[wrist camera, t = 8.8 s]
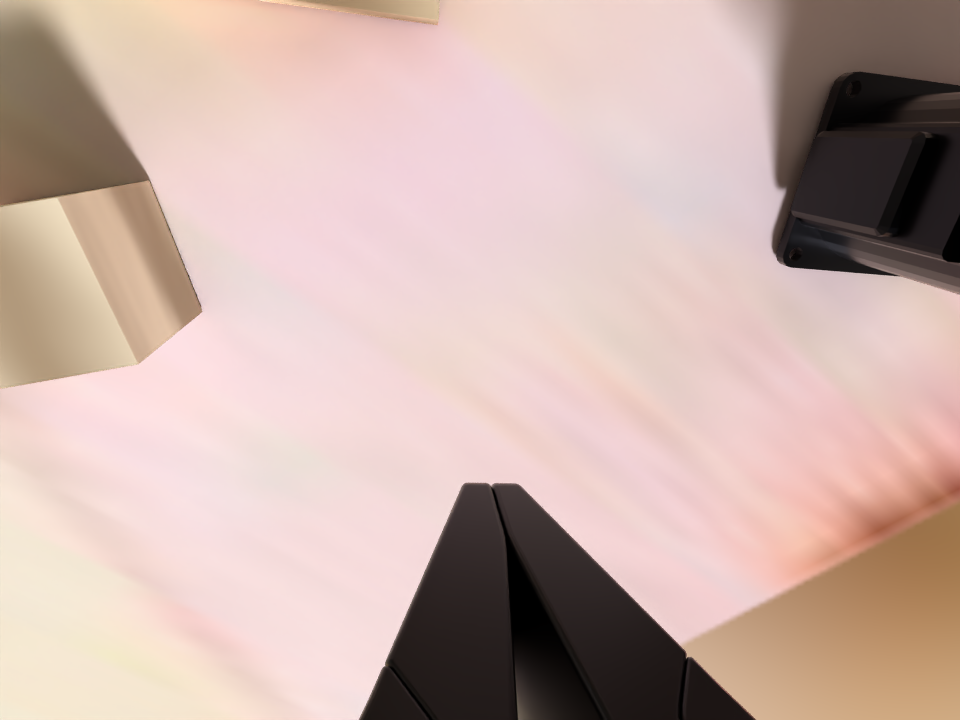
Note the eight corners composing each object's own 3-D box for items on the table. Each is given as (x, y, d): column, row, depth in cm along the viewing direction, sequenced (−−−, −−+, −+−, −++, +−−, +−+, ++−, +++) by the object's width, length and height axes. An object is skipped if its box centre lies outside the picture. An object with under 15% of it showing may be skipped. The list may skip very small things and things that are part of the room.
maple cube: (149, 180, 16) (57, 197, 12) (202, 311, 18) (138, 364, 14) (7, 204, 16) (-134, 229, 12) (76, 333, 18) (-26, 393, 14)
